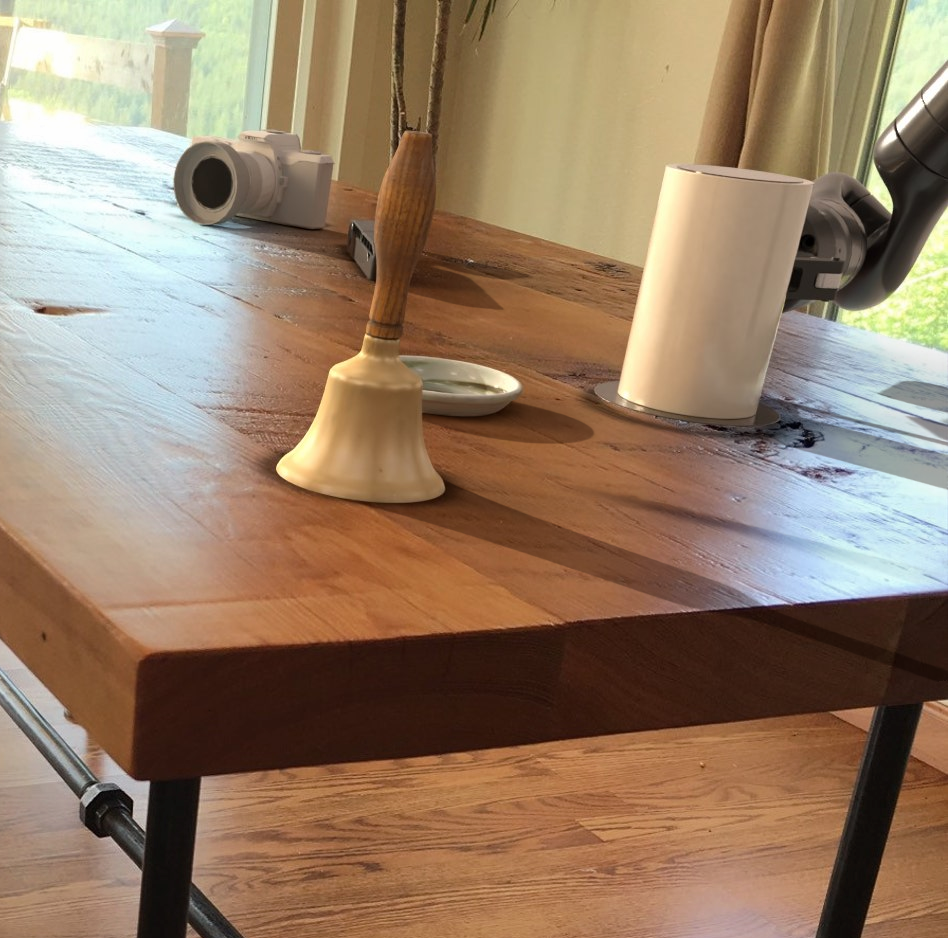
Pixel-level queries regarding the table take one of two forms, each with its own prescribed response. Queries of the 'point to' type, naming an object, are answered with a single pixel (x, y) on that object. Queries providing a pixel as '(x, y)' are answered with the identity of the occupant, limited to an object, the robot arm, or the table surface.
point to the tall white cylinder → (713, 289)
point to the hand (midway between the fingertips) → (696, 275)
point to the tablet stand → (363, 246)
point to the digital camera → (253, 180)
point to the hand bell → (379, 364)
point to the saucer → (462, 387)
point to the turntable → (611, 395)
